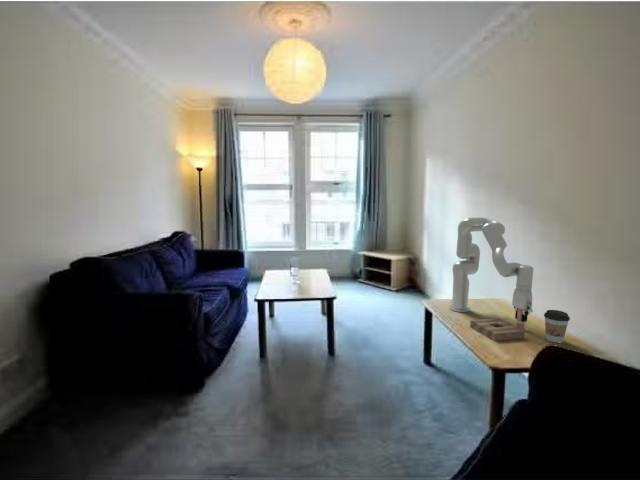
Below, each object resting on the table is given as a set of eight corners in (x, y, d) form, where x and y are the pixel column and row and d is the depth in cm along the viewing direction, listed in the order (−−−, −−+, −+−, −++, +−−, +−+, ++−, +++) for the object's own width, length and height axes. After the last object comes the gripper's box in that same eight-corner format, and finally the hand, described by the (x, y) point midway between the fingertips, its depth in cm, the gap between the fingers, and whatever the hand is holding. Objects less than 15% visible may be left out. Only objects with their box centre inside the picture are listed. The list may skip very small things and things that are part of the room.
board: (470, 327, 214) (470, 320, 213) (497, 324, 218) (498, 318, 217) (494, 340, 194) (494, 333, 194) (524, 338, 199) (524, 330, 198)
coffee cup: (540, 341, 194) (543, 313, 192) (542, 335, 204) (544, 307, 202) (567, 347, 188) (570, 317, 186) (567, 339, 197) (570, 311, 195)
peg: (514, 327, 214) (516, 303, 212) (520, 327, 214) (522, 303, 213) (519, 330, 209) (521, 305, 208) (526, 330, 210) (528, 305, 209)
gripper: (507, 284, 216) (504, 315, 218) (529, 292, 200) (526, 325, 202) (518, 283, 218) (515, 314, 220) (541, 291, 202) (538, 324, 204)
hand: (521, 319), depth 211 cm, fingers closed on peg, 4 cm apart
